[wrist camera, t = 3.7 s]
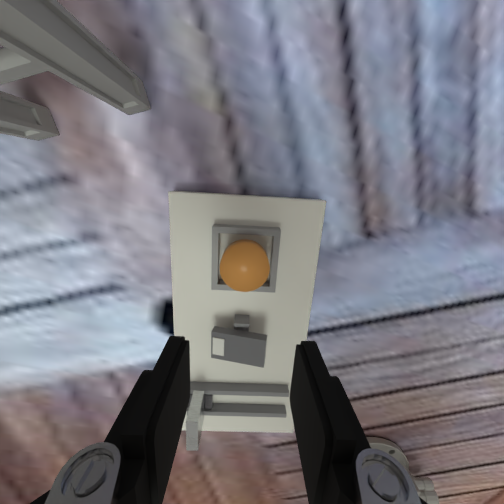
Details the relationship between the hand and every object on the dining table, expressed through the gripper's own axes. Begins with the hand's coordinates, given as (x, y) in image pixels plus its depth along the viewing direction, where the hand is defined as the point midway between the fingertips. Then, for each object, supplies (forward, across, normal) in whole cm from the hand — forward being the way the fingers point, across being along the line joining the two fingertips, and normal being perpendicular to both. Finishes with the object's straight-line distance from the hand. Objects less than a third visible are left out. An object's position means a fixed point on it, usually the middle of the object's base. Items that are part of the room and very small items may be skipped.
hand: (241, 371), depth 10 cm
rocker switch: (+14, 0, +9) cm, 17 cm away
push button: (+14, 0, 0) cm, 14 cm away
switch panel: (+17, 0, +9) cm, 20 cm away
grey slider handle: (+15, +4, +18) cm, 24 cm away
